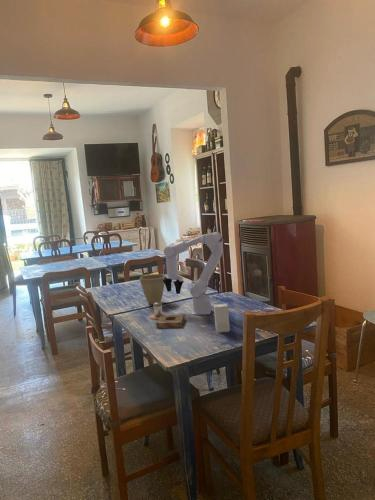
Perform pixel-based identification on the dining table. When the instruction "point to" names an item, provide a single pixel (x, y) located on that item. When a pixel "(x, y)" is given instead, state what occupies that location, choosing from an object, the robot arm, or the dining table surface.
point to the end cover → (157, 309)
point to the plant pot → (152, 287)
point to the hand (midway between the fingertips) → (173, 292)
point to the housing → (170, 321)
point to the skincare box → (221, 318)
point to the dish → (155, 317)
